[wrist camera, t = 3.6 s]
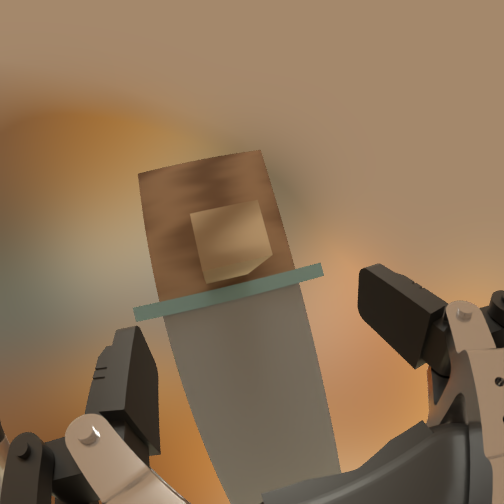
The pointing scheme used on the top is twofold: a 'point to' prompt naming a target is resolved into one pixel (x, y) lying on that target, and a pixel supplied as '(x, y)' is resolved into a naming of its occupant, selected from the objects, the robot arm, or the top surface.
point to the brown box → (212, 224)
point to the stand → (253, 382)
